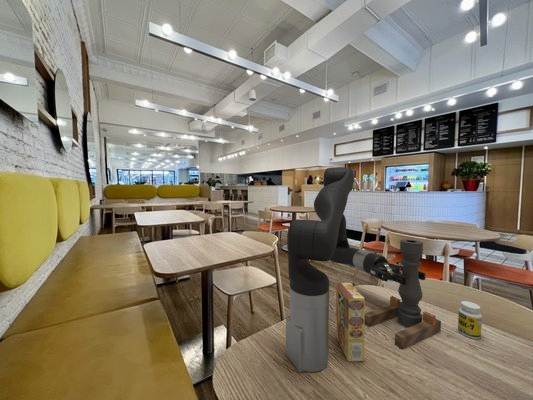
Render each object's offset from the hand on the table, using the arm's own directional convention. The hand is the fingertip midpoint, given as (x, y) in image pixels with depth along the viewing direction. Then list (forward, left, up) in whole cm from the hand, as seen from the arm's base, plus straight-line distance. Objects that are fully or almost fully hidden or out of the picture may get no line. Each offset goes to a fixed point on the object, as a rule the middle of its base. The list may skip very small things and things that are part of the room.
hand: (416, 279), depth 65 cm
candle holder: (0, +1, -14) cm, 14 cm away
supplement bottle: (+10, -9, -14) cm, 19 cm away
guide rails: (-4, +1, -14) cm, 15 cm away
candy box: (-25, +1, -14) cm, 29 cm away
